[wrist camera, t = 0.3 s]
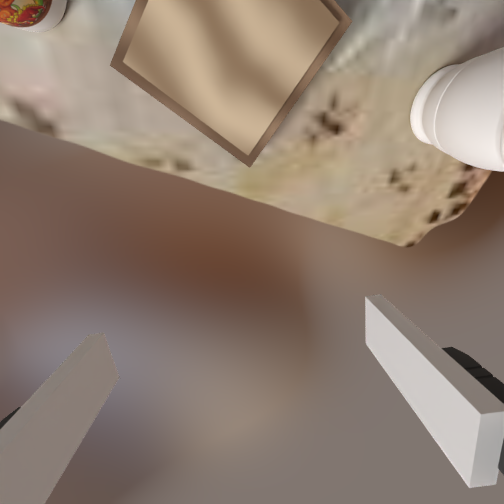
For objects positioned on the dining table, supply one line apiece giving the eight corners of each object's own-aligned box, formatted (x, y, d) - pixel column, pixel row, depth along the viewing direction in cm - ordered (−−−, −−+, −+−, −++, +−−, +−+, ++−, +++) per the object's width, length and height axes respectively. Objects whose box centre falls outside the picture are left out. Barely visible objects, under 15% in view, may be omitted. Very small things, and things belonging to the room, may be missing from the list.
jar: (486, 128, 34) (641, 147, 21) (407, 165, 36) (507, 204, 23) (485, 33, 29) (688, -16, 16) (393, 83, 31) (512, 74, 18)
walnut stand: (204, -116, 22) (198, -166, 18) (335, 31, 28) (355, 19, 24) (125, 69, 28) (107, 64, 24) (247, 159, 34) (250, 168, 30)
